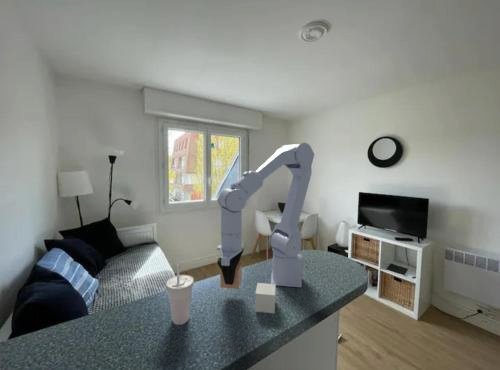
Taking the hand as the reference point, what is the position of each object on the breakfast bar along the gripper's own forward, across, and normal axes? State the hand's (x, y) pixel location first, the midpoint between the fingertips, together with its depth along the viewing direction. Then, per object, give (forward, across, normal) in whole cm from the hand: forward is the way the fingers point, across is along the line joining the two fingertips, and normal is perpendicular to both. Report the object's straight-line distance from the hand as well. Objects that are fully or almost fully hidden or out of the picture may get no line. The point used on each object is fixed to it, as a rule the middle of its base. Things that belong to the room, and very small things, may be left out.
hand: (231, 278), depth 62 cm
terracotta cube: (+1, 0, 0) cm, 1 cm away
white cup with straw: (+5, +11, -10) cm, 16 cm away
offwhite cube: (+5, +3, +10) cm, 12 cm away
